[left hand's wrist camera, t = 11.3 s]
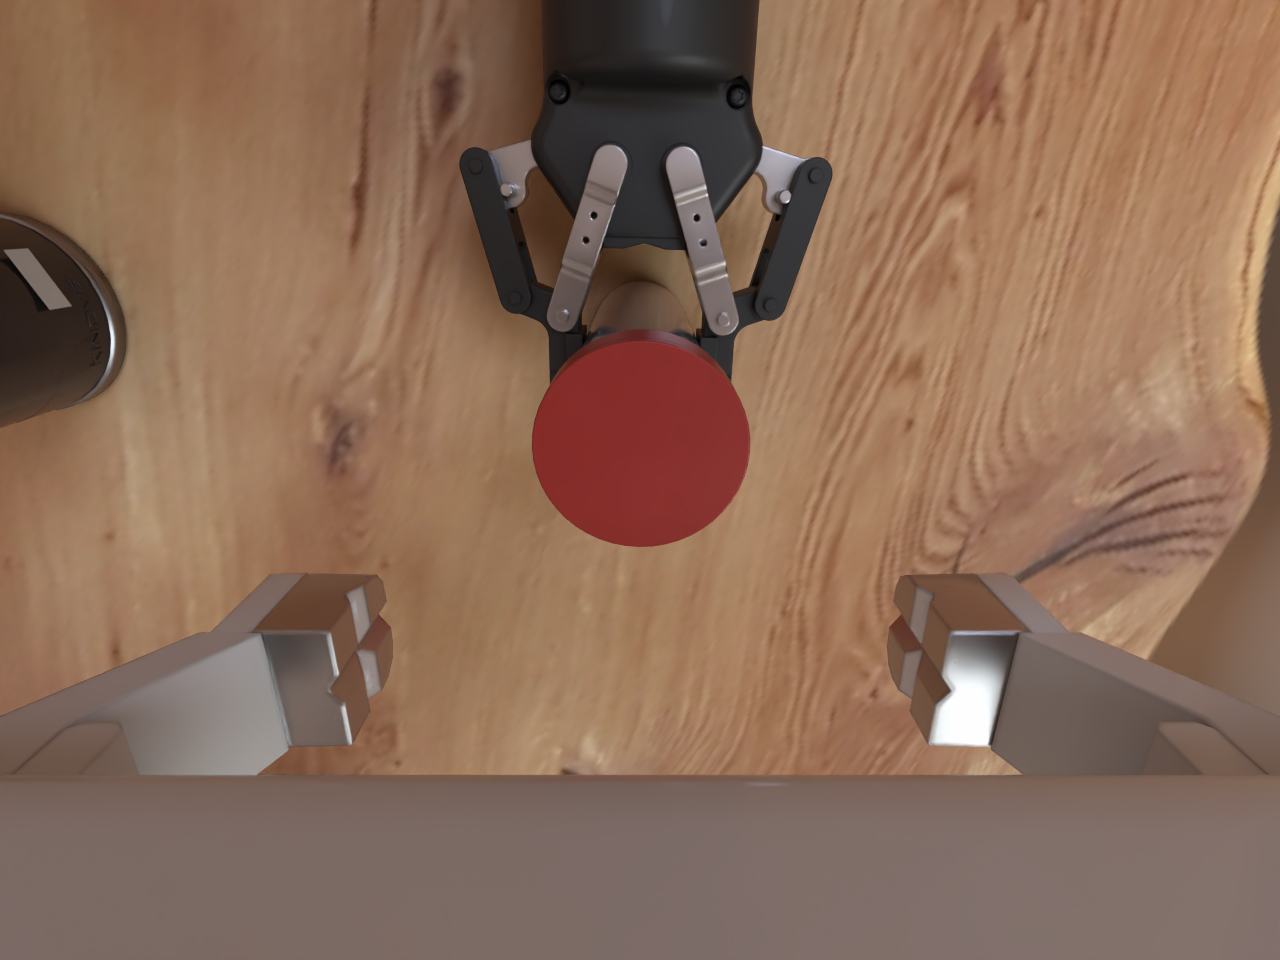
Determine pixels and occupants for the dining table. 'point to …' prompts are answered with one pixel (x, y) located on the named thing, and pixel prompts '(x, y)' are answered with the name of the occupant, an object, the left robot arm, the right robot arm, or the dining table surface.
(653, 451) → the lid
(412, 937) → the left robot arm
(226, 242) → the dining table surface
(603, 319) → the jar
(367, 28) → the dining table surface
